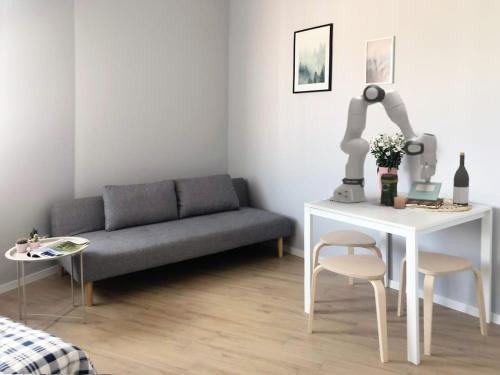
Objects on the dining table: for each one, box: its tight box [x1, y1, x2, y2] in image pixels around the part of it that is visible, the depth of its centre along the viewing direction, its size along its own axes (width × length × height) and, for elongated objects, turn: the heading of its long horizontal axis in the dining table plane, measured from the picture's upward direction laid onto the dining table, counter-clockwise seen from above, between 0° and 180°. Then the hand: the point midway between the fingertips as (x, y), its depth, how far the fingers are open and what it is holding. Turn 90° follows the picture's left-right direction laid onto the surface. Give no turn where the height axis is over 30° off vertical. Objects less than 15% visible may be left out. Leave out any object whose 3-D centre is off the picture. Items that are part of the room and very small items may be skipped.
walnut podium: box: [405, 197, 445, 207], centre depth 268 cm, size 18×16×8 cm
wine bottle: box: [452, 151, 470, 207], centre depth 263 cm, size 8×8×30 cm
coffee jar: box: [380, 172, 399, 207], centre depth 272 cm, size 10×8×19 cm
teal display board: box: [406, 180, 443, 202], centre depth 268 cm, size 16×14×1 cm
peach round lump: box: [393, 195, 406, 210], centre depth 263 cm, size 6×6×6 cm
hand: (427, 184), depth 273 cm, fingers closed
